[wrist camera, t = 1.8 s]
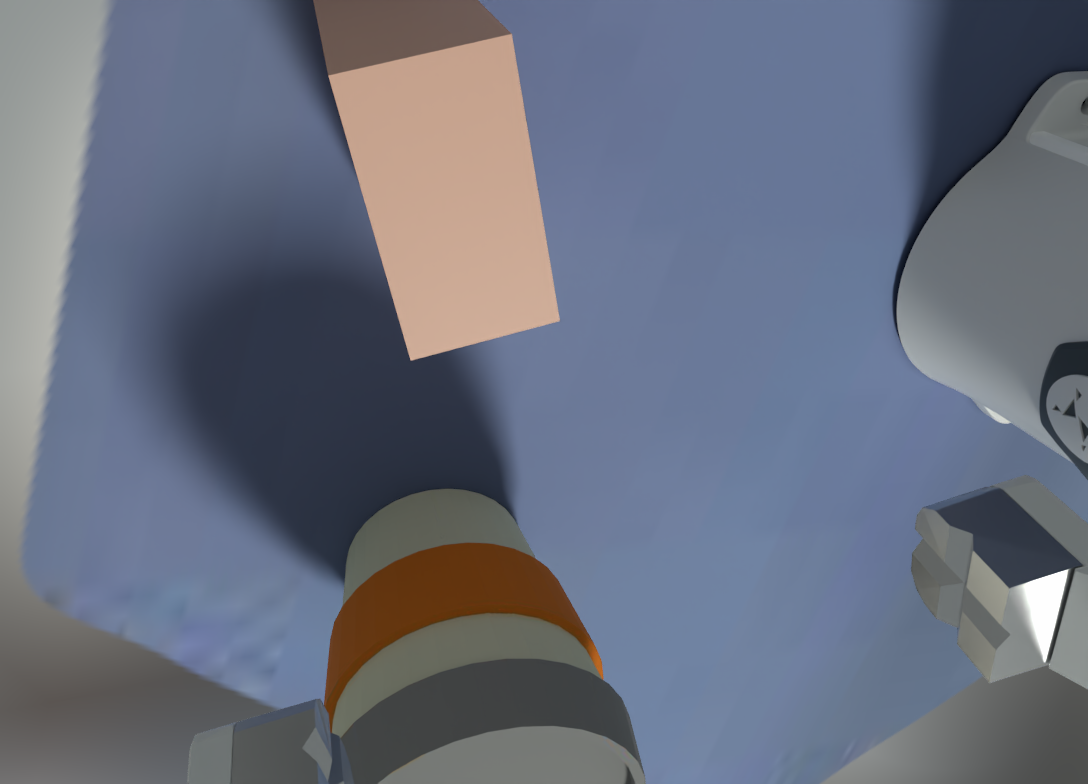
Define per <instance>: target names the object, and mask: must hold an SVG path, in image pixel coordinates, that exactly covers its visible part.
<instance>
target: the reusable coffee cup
mask: <svg viewBox="0 0 1088 784" xmlns="http://www.w3.org/2000/svg"><path fill="white" fill-rule="evenodd" d="M324 706H325V708H326V710H327V712H328V714H329V723H330V732H331V733H333V734H336V735H338V736H340V738H341V741H342V743H343V745H344V747H345V750H346V753H347V756H348V759H349V762H350V765H351V770H352V775H353V780H354V784H646V783H645V775H644V771H643V768H642V764H641V760H640V756H639V752H638V748H637V744H636V740H635V736H634V732H633V729H632V725H631V721H630V717H629V714H628V712H627V709H626V707H625V705H624V702H623V700H622V698H621V697H620V696H619V695H618V694H617V693H616V692H615V690H614V689H613V688H612V687H611V686H610V685H609V684H608V683H607V682H605V681H603V670H602V661H601V659H600V656H599V654H598V652H597V649H596V647H595V645H594V643H593V641H592V640H591V638H590V636H589V634H588V632H587V631H586V629H585V627H584V625H583V624H582V622H581V620H580V618H579V617H578V615H577V613H576V611H575V609H574V608H573V606H572V604H571V602H570V601H569V599H568V597H567V595H566V594H565V592H564V590H563V588H562V586H561V585H560V583H559V581H558V580H557V578H556V577H555V576H554V575H553V574H552V572H551V571H550V570H549V569H548V568H547V567H546V566H545V565H544V564H542V563H541V562H539V561H538V560H537V559H536V558H535V556H534V554H533V552H532V551H531V549H530V547H529V545H528V543H527V542H526V540H525V538H524V536H523V534H522V532H521V531H520V529H519V527H518V525H517V523H516V522H515V520H514V518H513V517H512V516H511V515H510V513H509V512H508V511H507V510H506V509H505V508H504V507H503V506H501V505H500V504H499V503H497V502H496V501H495V500H493V499H491V498H488V497H486V496H484V495H482V494H479V493H475V492H471V491H467V490H460V489H436V490H427V491H423V492H419V493H415V494H411V495H409V496H406V497H404V498H401V499H399V500H396V501H394V502H392V503H391V504H389V505H387V506H386V507H384V508H382V509H381V510H379V511H378V512H377V513H376V514H374V515H373V516H372V517H371V518H370V519H369V520H367V521H366V522H365V524H364V525H363V526H362V527H361V529H360V530H359V531H358V532H357V534H356V535H355V537H354V539H353V541H352V543H351V545H350V548H349V552H348V556H347V561H346V572H345V584H344V596H343V606H342V608H341V610H340V612H339V614H338V616H337V618H336V620H335V622H334V626H333V630H332V635H331V639H330V648H329V659H328V669H327V680H326V690H325V700H324Z"/></svg>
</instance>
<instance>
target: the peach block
mask: <svg viewBox="0 0 1088 784" xmlns="http://www.w3.org/2000/svg"><path fill="white" fill-rule="evenodd" d="M313 2H314V7H315V12H316V17H317V22H318V27H319V32H320V37H321V42H322V47H323V52H324V57H325V62H326V67H327V72H328V76H329V80H330V83H331V87H332V90H333V94H334V97H335V101H336V104H337V107H338V111H339V114H340V118H341V121H342V125H343V128H344V132H345V135H346V139H347V142H348V145H349V149H350V152H351V156H352V159H353V163H354V166H355V170H356V173H357V177H358V180H359V184H360V187H361V190H362V194H363V197H364V201H365V204H366V208H367V211H368V215H369V218H370V222H371V225H372V229H373V232H374V235H375V239H376V242H377V246H378V249H379V253H380V256H381V260H382V263H383V267H384V270H385V274H386V277H387V280H388V284H389V287H390V291H391V294H392V298H393V301H394V305H395V308H396V312H397V315H398V318H399V322H400V325H401V329H402V332H403V336H404V339H405V343H406V346H407V350H408V353H409V357H410V360H411V361H412V360H415V359H419V358H423V357H427V356H430V355H434V354H438V353H442V352H445V351H449V350H453V349H457V348H460V347H464V346H468V345H472V344H475V343H479V342H483V341H487V340H490V339H494V338H498V337H502V336H505V335H509V334H513V333H517V332H520V331H524V330H528V329H532V328H535V327H539V326H543V325H547V324H550V323H554V322H558V321H560V319H559V313H558V307H557V301H556V295H555V289H554V283H553V277H552V271H551V265H550V259H549V253H548V247H547V242H546V236H545V230H544V224H543V218H542V212H541V206H540V200H539V194H538V188H537V182H536V176H535V170H534V164H533V158H532V152H531V146H530V140H529V134H528V128H527V122H526V117H525V111H524V105H523V99H522V93H521V87H520V81H519V75H518V69H517V63H516V57H515V51H514V45H513V39H512V34H511V33H510V32H509V31H508V30H507V29H506V28H505V27H504V26H503V25H502V24H501V23H500V22H499V21H498V20H497V19H496V18H495V17H494V16H493V15H492V14H491V13H490V12H489V11H488V10H487V9H486V8H485V7H484V6H483V5H482V4H481V3H480V2H479V1H478V0H313Z"/></svg>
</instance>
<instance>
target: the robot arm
mask: <svg viewBox="0 0 1088 784" xmlns="http://www.w3.org/2000/svg"><path fill="white" fill-rule="evenodd" d="M1085 99H1086V101H1085V103H1084V104H1083V106H1082V107H1081V105H1082V103H1083V101H1084V100H1085ZM897 325H898V332H899V336H900V340H901V343H902V345H903V348H904V350H905V352H906V354H907V356H908V357H909V359H910V360H911V362H912V363H913V364H914V365H915V366H916V367H917V368H918V369H919V370H920V371H921V372H922V373H923V374H925V375H926V376H928V377H929V378H931V379H933V380H935V381H937V382H939V383H941V384H943V385H946V386H948V387H950V388H952V389H955V390H957V391H959V392H961V393H963V394H965V395H967V396H968V397H970V398H972V400H973V401H974V402H975V403H976V405H977V406H978V407H979V408H980V409H981V410H982V411H983V412H984V413H985V414H987V415H988V416H990V417H991V418H993V419H994V420H996V421H998V422H1000V423H1005V424H1007V423H1012V424H1014V425H1016V426H1017V427H1019V428H1020V429H1021V430H1023V431H1025V432H1026V433H1028V434H1029V435H1031V436H1032V437H1034V438H1035V439H1037V440H1038V441H1040V442H1041V443H1043V444H1044V445H1046V446H1047V447H1049V448H1051V449H1052V450H1054V451H1055V452H1057V453H1058V454H1060V455H1061V456H1063V457H1064V458H1066V459H1067V460H1069V461H1071V462H1072V463H1074V464H1075V465H1076V466H1077V468H1078V469H1079V470H1080V471H1081V473H1082V474H1083V475H1084V476H1085V477H1086V479H1087V480H1088V71H1076V72H1063V73H1059V74H1057V75H1055V76H1053V77H1051V78H1050V79H1048V80H1047V81H1046V82H1045V83H1044V84H1043V85H1042V86H1041V87H1040V88H1039V89H1038V90H1037V92H1036V93H1035V94H1034V95H1033V97H1032V98H1031V99H1030V101H1029V102H1028V104H1027V105H1026V106H1025V108H1024V109H1023V111H1022V112H1021V114H1020V116H1019V117H1018V119H1017V120H1016V122H1015V123H1014V125H1013V126H1012V128H1011V130H1010V131H1009V133H1008V134H1007V136H1006V137H1005V138H1004V139H1003V140H1002V141H1001V143H1000V144H999V145H998V146H997V147H996V148H995V149H994V150H992V151H991V152H990V153H989V154H988V155H987V156H986V157H985V158H984V159H982V160H981V161H980V162H979V163H978V164H977V165H976V166H975V167H973V168H972V169H971V170H970V171H969V172H968V173H967V174H966V175H965V176H964V177H963V178H962V179H961V180H960V181H959V182H958V183H957V184H956V185H955V186H954V187H953V188H952V189H951V190H950V191H949V193H948V194H947V195H946V196H945V197H944V199H943V200H942V201H941V202H940V204H939V205H938V206H937V208H936V209H935V210H934V212H933V213H932V215H931V216H930V218H929V219H928V221H927V222H926V224H925V225H924V227H923V229H922V230H921V232H920V234H919V236H918V238H917V240H916V241H915V243H914V246H913V248H912V250H911V252H910V254H909V257H908V259H907V262H906V265H905V268H904V271H903V274H902V278H901V282H900V286H899V291H898V299H897ZM915 530H916V531H917V532H918V533H919V534H920V535H921V536H922V537H923V539H922V541H921V542H920V543H919V545H918V546H917V547H916V549H915V550H914V551H913V553H912V567H911V571H912V575H913V578H914V582H915V585H916V589H917V591H918V593H919V595H920V596H921V598H922V600H923V602H924V604H925V605H926V606H927V607H928V609H929V610H930V611H931V613H932V614H933V615H934V616H935V618H936V619H938V620H941V621H943V622H945V623H948V624H950V625H952V626H954V627H957V645H958V646H959V647H960V648H961V649H962V651H963V652H964V653H965V654H966V655H967V657H968V658H969V659H970V660H971V661H972V663H973V664H974V665H975V666H976V667H977V669H978V670H979V671H980V672H981V673H982V675H983V676H984V677H985V678H986V679H987V681H988V682H989V683H991V682H994V681H998V680H1001V679H1004V678H1007V677H1010V676H1013V675H1017V674H1020V673H1023V672H1026V671H1029V670H1033V669H1036V668H1039V667H1042V666H1046V665H1049V664H1050V666H1049V668H1050V669H1052V670H1053V671H1055V672H1057V673H1059V674H1061V675H1063V676H1064V677H1066V678H1068V679H1070V680H1072V681H1074V682H1076V683H1078V684H1080V685H1081V686H1083V687H1085V688H1087V689H1088V524H1087V523H1086V522H1085V521H1084V520H1083V519H1082V518H1080V517H1079V516H1078V515H1077V514H1076V513H1075V512H1074V511H1072V510H1071V509H1070V508H1069V507H1068V506H1067V505H1065V504H1064V503H1063V502H1062V501H1061V500H1060V499H1059V498H1057V497H1056V496H1055V495H1054V494H1053V493H1052V492H1051V491H1049V490H1048V489H1047V488H1046V487H1045V486H1044V485H1042V484H1041V483H1040V482H1039V481H1038V480H1036V479H1035V478H1032V477H1030V476H1027V475H1024V476H1021V477H1017V478H1014V479H1011V480H1008V481H1005V482H1002V483H998V484H995V485H992V486H990V487H983V488H980V489H977V490H974V491H971V492H968V493H965V494H962V495H959V496H956V497H953V498H950V499H947V500H944V501H941V502H938V503H935V504H932V505H929V506H926V507H923V508H922V509H921V510H920V512H919V513H918V514H917V519H916V526H915ZM187 784H354V780H353V775H352V770H351V765H350V762H349V759H348V756H347V753H346V750H345V747H344V745H343V743H342V741H341V738H340V736H338V735H336V734H333V733H331V732H330V723H329V714H328V712H327V710H326V708H325V706H324V705H323V703H322V701H321V699H315V700H311V701H308V702H304V703H301V704H297V705H294V706H291V707H287V708H284V709H280V710H277V711H273V712H270V713H266V714H263V715H259V716H256V717H252V718H249V719H245V720H242V721H238V722H235V723H232V724H229V725H226V726H223V727H219V728H215V729H212V730H209V731H205V732H202V733H199V734H196V735H195V737H194V740H193V742H192V745H191V747H190V755H189V766H188V779H187Z"/></svg>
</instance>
